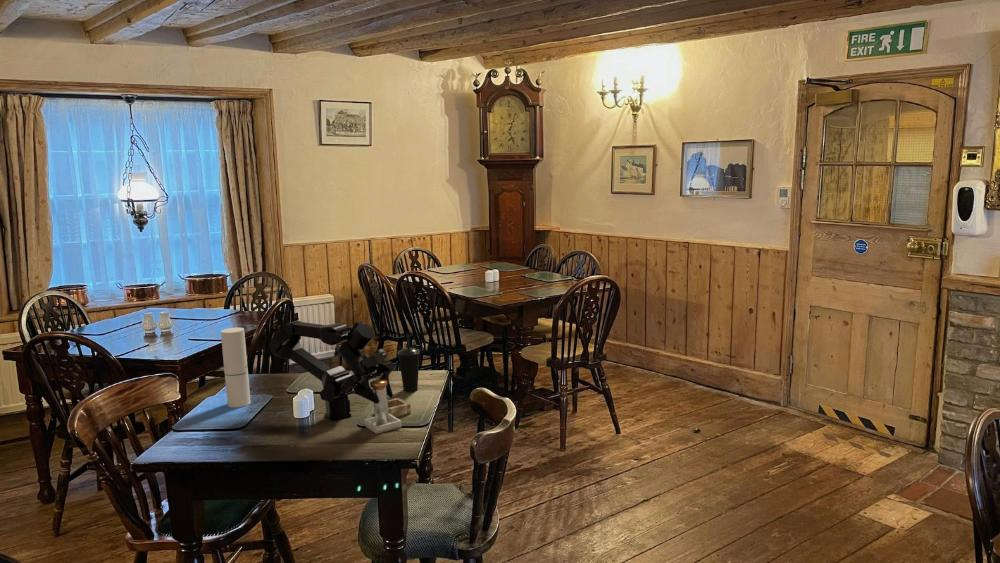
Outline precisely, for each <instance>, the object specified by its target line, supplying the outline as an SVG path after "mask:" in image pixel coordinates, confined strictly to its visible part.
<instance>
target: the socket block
mask: <svg viewBox="0 0 1000 563" xmlns="http://www.w3.org/2000/svg"><path fill="white" fill-rule="evenodd" d="M387 403H388V413H389V414H391V415H392V416H394V417H396V416H398V417H401V416H400V415H402V416H404V415H403V414H406V415H408V414H407V413H410V414H412V411H411V410H412V409H411V403H410V402H407V401H405V400H404V399H402V398H399V397H395V398H392V399H387ZM396 418H397V417H396Z"/></svg>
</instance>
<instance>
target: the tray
mask: <svg viewBox="0 0 1000 563" xmlns="http://www.w3.org/2000/svg"><path fill="white" fill-rule="evenodd" d="M363 426H364V427H365V428H367V429H369V430H370V431H372V432H373V433H375V434H376V435H379V434H381V433H386V432H389V431H393V430H396V429H401V428H402V427H403V426H402V420H401V419H400V418H398V417H394V416H392V415H391V414H389V423H388V424H384V425H380V426H376V421H375V416H372V417H368V418H365V419H363Z"/></svg>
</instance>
